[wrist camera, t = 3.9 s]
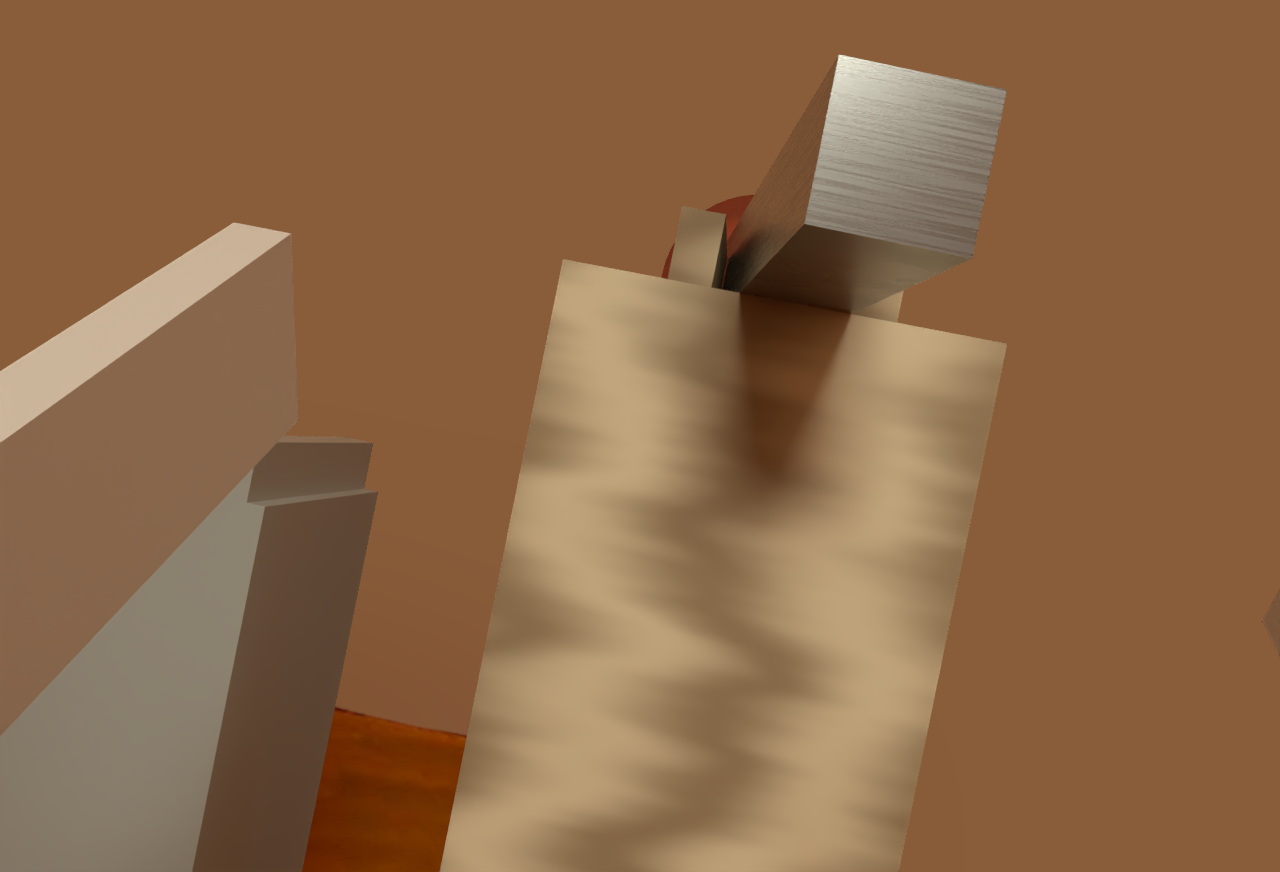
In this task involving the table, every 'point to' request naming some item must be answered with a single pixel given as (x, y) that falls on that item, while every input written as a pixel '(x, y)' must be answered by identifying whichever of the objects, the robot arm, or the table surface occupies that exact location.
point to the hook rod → (866, 190)
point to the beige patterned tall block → (721, 580)
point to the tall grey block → (203, 689)
